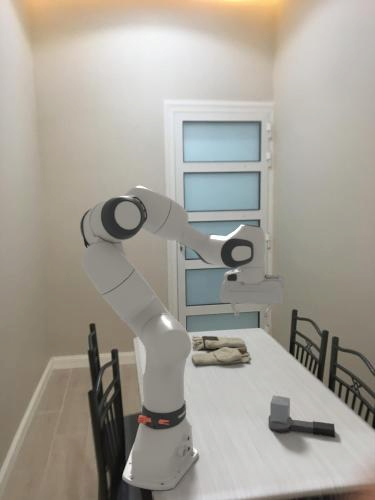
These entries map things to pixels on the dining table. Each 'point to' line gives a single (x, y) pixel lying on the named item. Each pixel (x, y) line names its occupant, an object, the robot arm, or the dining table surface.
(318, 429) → the ratchet
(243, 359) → the pair of gloves
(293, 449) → the dining table surface
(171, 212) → the robot arm
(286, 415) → the plain grey cube block
